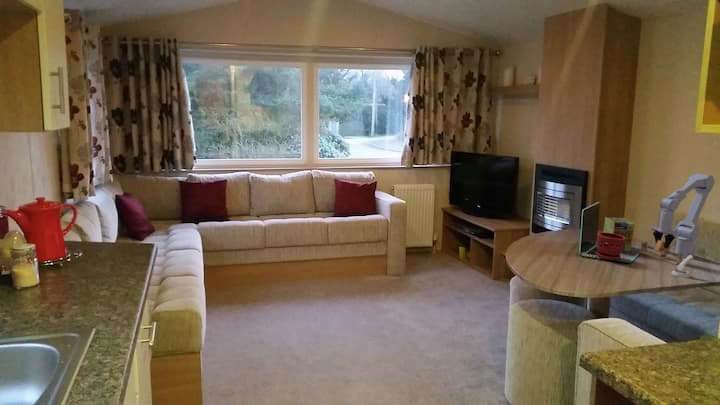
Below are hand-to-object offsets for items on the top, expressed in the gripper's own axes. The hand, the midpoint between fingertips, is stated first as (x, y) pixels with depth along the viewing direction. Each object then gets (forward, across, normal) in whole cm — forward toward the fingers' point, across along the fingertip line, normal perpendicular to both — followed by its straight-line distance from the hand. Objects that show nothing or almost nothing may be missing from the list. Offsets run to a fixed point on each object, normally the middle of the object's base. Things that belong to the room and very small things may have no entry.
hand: (662, 247), depth 276 cm
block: (+3, 0, -1) cm, 3 cm away
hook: (+6, +23, -16) cm, 29 cm away
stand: (+6, 0, 0) cm, 6 cm away
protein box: (+6, -22, -7) cm, 24 cm away
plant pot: (+6, -8, -28) cm, 30 cm away
